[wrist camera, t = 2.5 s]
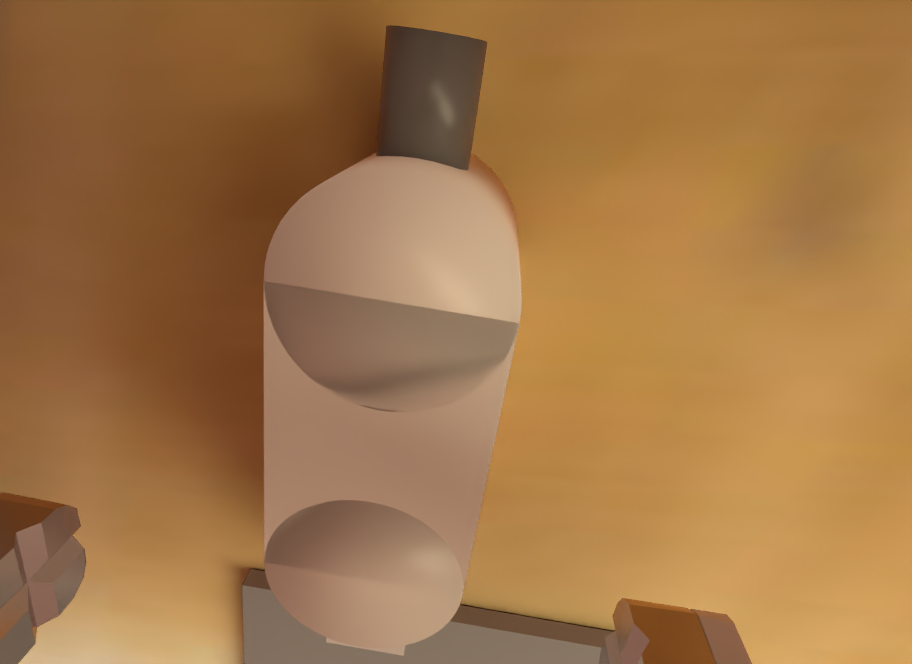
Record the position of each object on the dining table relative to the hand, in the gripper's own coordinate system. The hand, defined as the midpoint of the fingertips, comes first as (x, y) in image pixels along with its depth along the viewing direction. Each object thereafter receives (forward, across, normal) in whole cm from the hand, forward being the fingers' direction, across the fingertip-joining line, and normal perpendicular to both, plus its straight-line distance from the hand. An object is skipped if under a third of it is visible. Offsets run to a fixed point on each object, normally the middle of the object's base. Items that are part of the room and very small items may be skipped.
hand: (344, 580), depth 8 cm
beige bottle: (+6, 0, -1) cm, 6 cm away
